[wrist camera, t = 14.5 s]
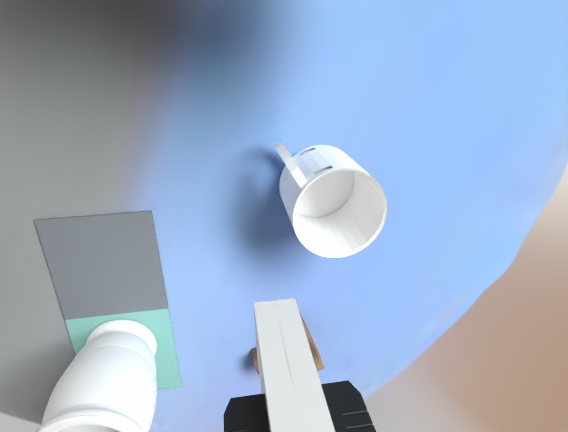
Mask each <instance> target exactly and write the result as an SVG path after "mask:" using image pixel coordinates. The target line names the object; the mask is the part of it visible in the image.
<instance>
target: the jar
mask: <svg viewBox="0 0 568 432" xmlns="http://www.w3.org/2000/svg"><path fill="white" fill-rule="evenodd" d="M156 350H157V343H156V339H155V337H154V335H153V333H152V332H151V331H150V330H149V329H148V328H147V327H145V326H144V325H142V324H140V323H138V322H135V321H131V320H112V321H108V322H106V323H103V324H101V325H99V326H98V327H96V328H95V329H94V330H93V331H92V332H91V333H90V334H89V336H88V338H87V340H86V344H85V346H84V347H83V348H82V349H81V350H80V351H79V352H78V354H77V355H76V356H75V358H74V359H73V361H72V362H71V364H70V365H69V366H68V368H67V369H66V370H65V372H64V373H63V375H62V376H61V378H60V379H59V381H58V382H57V384H56V386H55V388H54V390H53V392H52V394H51V396H50V398H49V401H48V403H47V406H46V409H45V412H44V416H43V420H42V424H41V427H40V428H39V429H38V430H37V431H36V432H149V429H150V426H151V423H152V420H153V416H154V412H155V406H156V398H157V382H156V362H155V358H154V356H155V354H156Z"/></svg>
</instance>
